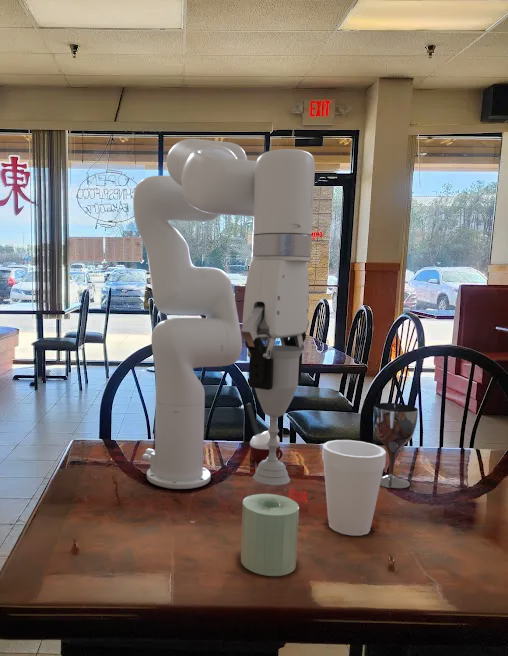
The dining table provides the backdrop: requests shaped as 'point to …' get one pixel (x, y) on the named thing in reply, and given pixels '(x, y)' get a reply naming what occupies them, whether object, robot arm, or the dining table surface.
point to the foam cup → (352, 484)
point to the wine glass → (394, 434)
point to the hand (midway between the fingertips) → (275, 383)
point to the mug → (269, 534)
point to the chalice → (278, 409)
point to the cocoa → (260, 440)
